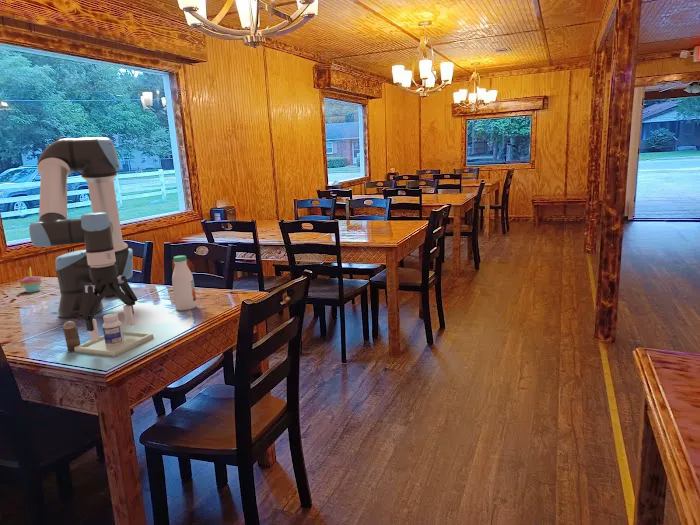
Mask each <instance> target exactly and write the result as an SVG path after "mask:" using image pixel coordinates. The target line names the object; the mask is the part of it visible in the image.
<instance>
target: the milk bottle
mask: <svg viewBox="0 0 700 525" xmlns="http://www.w3.org/2000/svg"><path fill="white" fill-rule="evenodd" d="M187 261H188V260H187V256H186V255H176V256H173V264H174V269H173V273H172V277H171V281H172V282H171V283H172V285H171V286H172V292H173V300H174V306H175V307H174V308H175V309H176V311H189V310H193V309H196V308H197V296H196V295H197V294H196V289H195V288H196V287H195V281H194V277H193V273H192V272H191V270H190V268H189V266H188V263H187Z"/></svg>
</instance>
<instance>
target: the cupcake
mask: <svg viewBox="0 0 700 525" xmlns="http://www.w3.org/2000/svg"><path fill="white" fill-rule="evenodd" d="M42 281H43V280H42V279H41V277H39V276H37V275H32V268H31V267H29V276H25V277H23V278H22V279H21V280H20V281H19V284H20V286H21V287H23V289H25V291H26V292H27V293H35V292H39V291H40V286H41V283H42Z"/></svg>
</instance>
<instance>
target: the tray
mask: <svg viewBox="0 0 700 525" xmlns="http://www.w3.org/2000/svg"><path fill="white" fill-rule="evenodd" d="M123 336H124V342H123V343H121V344H118V345H114V346H107V345H106V344H105V339H104V334H103V335H99V341H91V340H88V341H86V342H84V343H80V344H81V345H79V346H76V347H74V350H75V351H74V352H75V353H77V354H78V353H80V354H86V353H87V354H88V355H96V356H102V357H103V356H104V357H112V358H115V357H117V356H119V355H120V356H121V354H124V353H126V352H128V351H130V350H131V349H135V348H136V347H139V346H140V345H142V344H144V343H147V342H148V341H151V340H152V339H154V333H149V332H142V331H141V332H140V331H130V330H129V331H127V330H123Z"/></svg>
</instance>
